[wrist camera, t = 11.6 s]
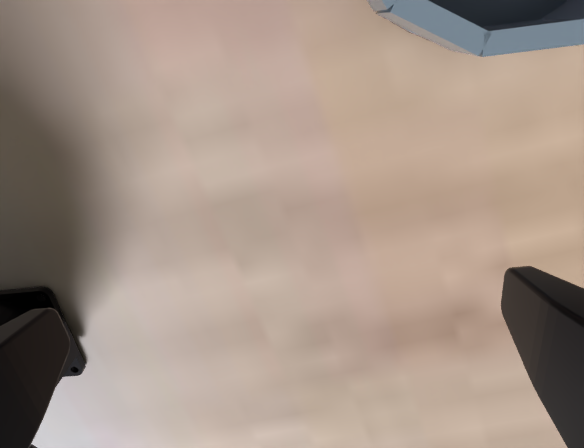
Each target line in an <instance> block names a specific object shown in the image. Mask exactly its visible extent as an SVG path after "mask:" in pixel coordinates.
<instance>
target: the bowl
mask: <svg viewBox="0 0 584 448" xmlns="http://www.w3.org/2000/svg"><path fill="white" fill-rule="evenodd" d="M367 1H368V3H369V5H370V6H371V8H372V10H373V11H377V13H376V14H377V15H379V16H381V17H383V18H385V19H388V20H389V21H391V22H392V23H394V24H396V25H397V26H399V27H401V28H402V29H404V30H406V31H408V32H410V33H412V34H415V35H417V36H420V37H422V38H425V39H427V40H430V41H432V42H434V43H436V44H438V45H440V46H442V47H444V48H446V49H448V50H450V51H454V52H460V53H465V54H470V55H475V56H481V57H485V56H493V55H501V54H509V53H517V52H525V51H533V50H541V49H549V48H557V47H565V46H573V45H581V44H584V0H367Z"/></svg>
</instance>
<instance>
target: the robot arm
mask: <svg viewBox="0 0 584 448" xmlns="http://www.w3.org/2000/svg"><path fill="white" fill-rule="evenodd" d="M42 295H43V296H44V297H43V296H42ZM501 310H502V314H503V317H504V319H505V322H506V324H507V326H508V329H509V331H510V333H511V336H512V338H513V340H514V343H515V345H516V347H517V350H518V352H519V354H520V357H521V359H522V361H523V364H524V366H525V369H526V371H527V373H528V376H529V378H530V380H531V382H532V384H533V386H534V388H535V390H536V392H537V394H538V396H539V398H540V400H541V401H542V403H543V405H544V407H545V408H546V410H547V412H548V414H549V415H550V417H551V419H552V421H553V423H554V424H555V426H556V428H557V430H558V431H559V433H560V435H561V437H562V438H563V440H564V442H565V444H566V446H567V447H568V448H584V288H581V287H579V286H576V285H574V284H572V283H569V282H567V281H565V280H562V279H560V278H558V277H555V276H553V275H550V274H548V273H546V272H543V271H541V270H539V269H536V268H534V267H531V266H523V267H512V268H509V269H507V270H506V272H505V275H504V283H503V291H502V299H501ZM85 367H86V366H85V363H84V361H83V359H82V356H81V354H80V352H79V350H78V347H77V345H76V343H75V341H74V339H73V336H72V334H71V332H70V330H69V327H68V325H67V323H66V321H65V318H64V316H63V314H62V312H61V310H60V307H59V305H58V303H57V301H56V298H55V296H54V294H53V292H52V291H51V290H50V289H48V288H46V287H36V288H25V289H14V290H4V291H0V448H37V447H35V446H34V445H32V444H31V443H32V441H33V439H34V437H35V435H36V433H37V431H38V429H39V427H40V424H41V422H42V420H43V418H44V415H45V413H46V410H47V408H48V405H49V403H50V400H51V397H52V395H53V392H54V390H55V387H56V386H57V384H58V383H59V381H60V380H61V379H62V377H65V376H78V375H80V374H82V372H83V371H84V369H85Z"/></svg>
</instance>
